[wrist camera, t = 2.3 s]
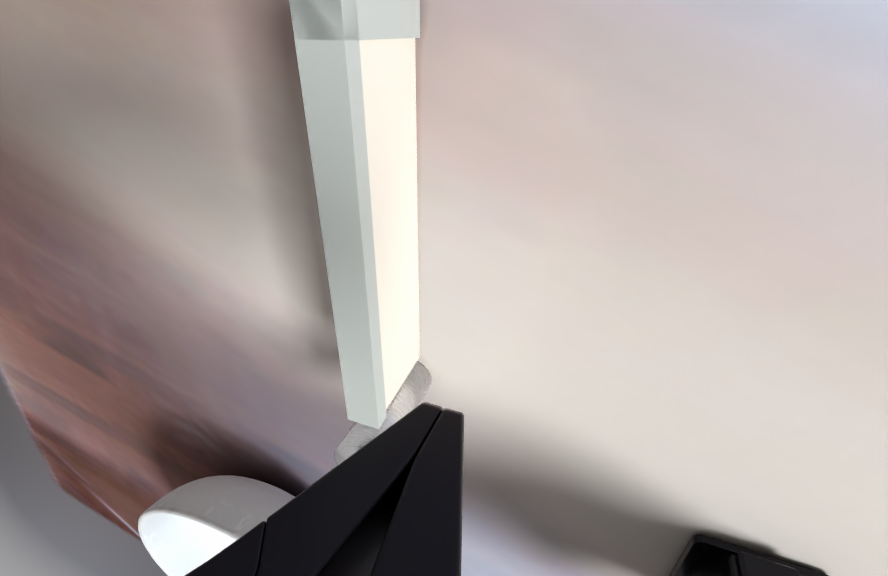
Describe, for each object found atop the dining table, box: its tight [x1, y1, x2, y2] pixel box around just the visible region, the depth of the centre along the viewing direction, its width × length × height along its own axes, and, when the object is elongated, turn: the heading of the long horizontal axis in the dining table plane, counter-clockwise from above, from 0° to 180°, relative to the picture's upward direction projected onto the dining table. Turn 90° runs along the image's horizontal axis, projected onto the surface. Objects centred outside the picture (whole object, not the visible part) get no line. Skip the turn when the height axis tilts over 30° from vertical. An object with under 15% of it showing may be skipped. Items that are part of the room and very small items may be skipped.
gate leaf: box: [289, 0, 420, 429], centre depth 18 cm, size 17×2×5 cm, turn 179°
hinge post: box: [334, 362, 431, 465], centre depth 23 cm, size 2×2×6 cm
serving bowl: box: [138, 475, 295, 576], centre depth 38 cm, size 21×21×7 cm
